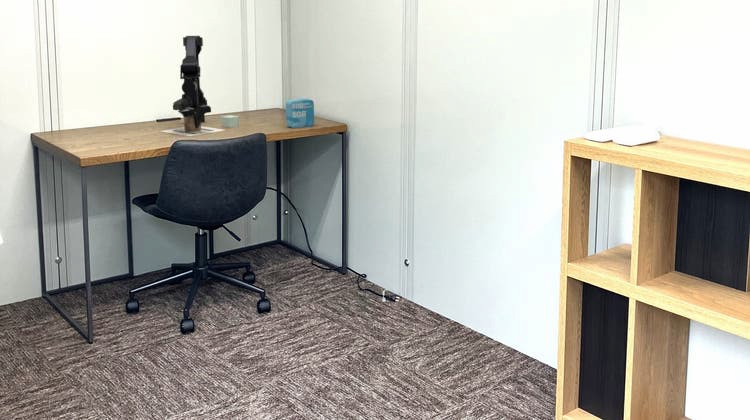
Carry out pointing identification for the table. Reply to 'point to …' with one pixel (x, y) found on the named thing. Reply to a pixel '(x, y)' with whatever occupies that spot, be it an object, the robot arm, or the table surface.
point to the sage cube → (229, 121)
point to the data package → (300, 113)
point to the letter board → (188, 133)
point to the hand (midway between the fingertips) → (192, 127)
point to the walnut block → (190, 124)
